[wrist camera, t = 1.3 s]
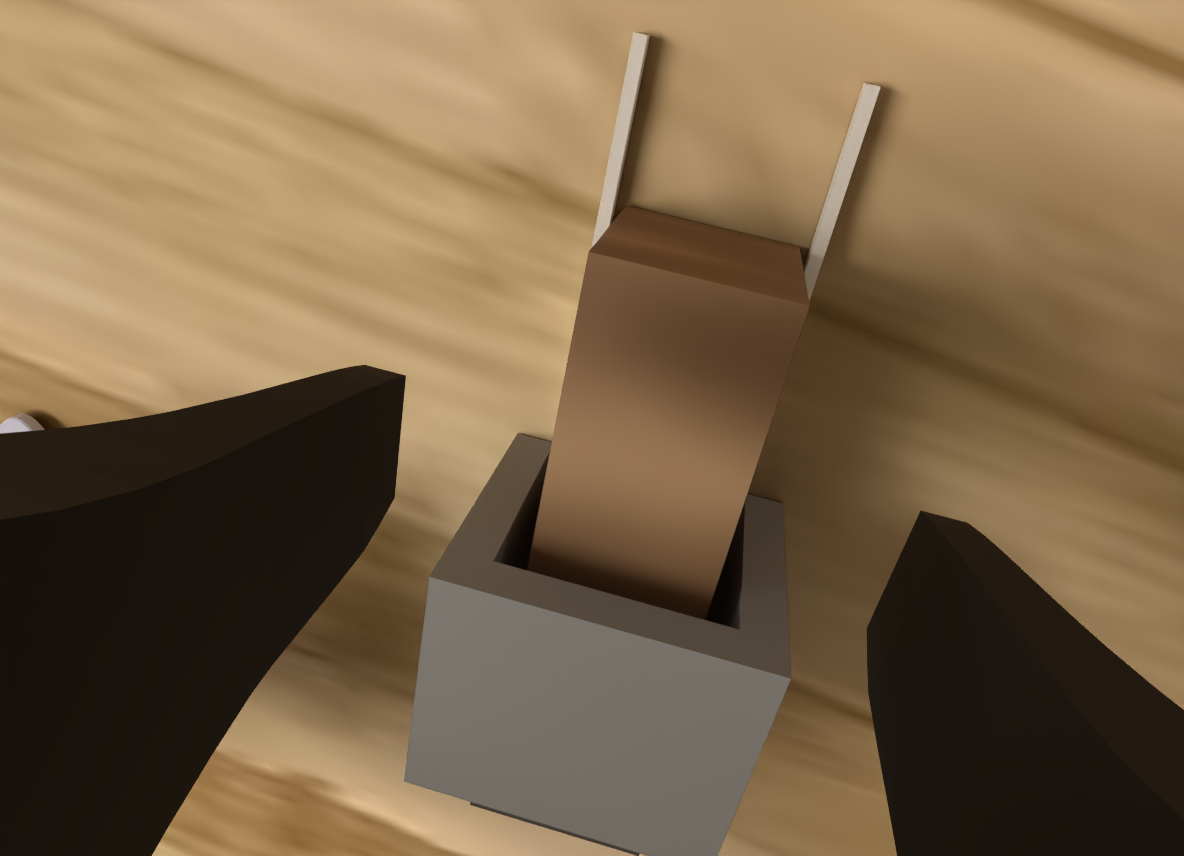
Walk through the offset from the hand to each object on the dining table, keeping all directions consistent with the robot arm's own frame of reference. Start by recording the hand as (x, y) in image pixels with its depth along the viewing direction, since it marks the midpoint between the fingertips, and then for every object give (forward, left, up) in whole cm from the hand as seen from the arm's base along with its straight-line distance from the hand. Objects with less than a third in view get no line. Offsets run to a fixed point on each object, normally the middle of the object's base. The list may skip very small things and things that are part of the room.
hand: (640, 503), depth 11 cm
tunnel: (-3, -2, -9) cm, 10 cm away
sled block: (-4, -3, -9) cm, 10 cm away
